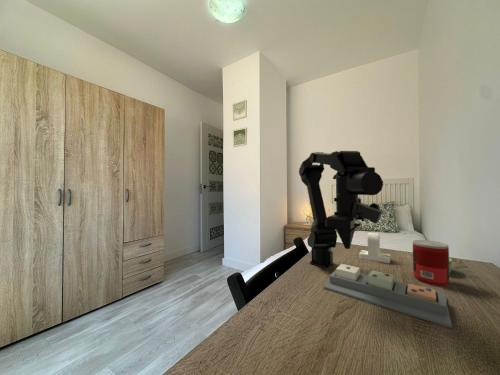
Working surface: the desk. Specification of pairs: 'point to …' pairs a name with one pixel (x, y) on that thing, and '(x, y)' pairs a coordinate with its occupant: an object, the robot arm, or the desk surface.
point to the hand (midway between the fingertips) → (347, 248)
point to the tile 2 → (381, 280)
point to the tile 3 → (421, 292)
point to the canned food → (431, 262)
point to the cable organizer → (374, 250)
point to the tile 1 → (348, 272)
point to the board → (393, 298)
